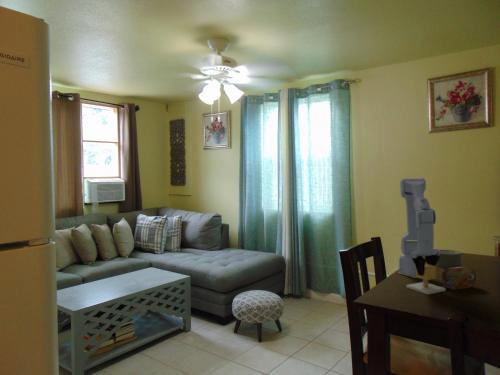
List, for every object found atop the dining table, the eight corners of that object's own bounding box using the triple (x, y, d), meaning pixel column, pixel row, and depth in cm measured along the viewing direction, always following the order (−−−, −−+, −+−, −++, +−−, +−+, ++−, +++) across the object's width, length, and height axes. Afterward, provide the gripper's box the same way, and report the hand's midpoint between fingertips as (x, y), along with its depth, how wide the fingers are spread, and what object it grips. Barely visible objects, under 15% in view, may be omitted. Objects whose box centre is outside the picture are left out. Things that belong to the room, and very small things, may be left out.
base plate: (406, 287, 147) (406, 275, 147) (423, 284, 152) (423, 272, 151) (427, 294, 138) (427, 281, 138) (445, 290, 142) (445, 278, 142)
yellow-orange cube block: (416, 277, 146) (416, 264, 146) (424, 275, 148) (424, 263, 148) (426, 280, 141) (426, 267, 141) (435, 278, 143) (435, 265, 143)
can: (433, 262, 191) (433, 249, 191) (459, 263, 186) (459, 250, 186) (435, 267, 180) (435, 253, 180) (463, 269, 175) (463, 255, 175)
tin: (446, 290, 143) (446, 269, 142) (440, 288, 146) (439, 267, 145) (476, 287, 147) (476, 266, 146) (470, 285, 150) (470, 264, 149)
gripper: (421, 243, 138) (421, 278, 138) (447, 240, 144) (447, 274, 144) (406, 240, 144) (406, 274, 144) (431, 237, 150) (431, 270, 151)
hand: (425, 274), depth 145 cm, fingers closed on yellow-orange cube block, 5 cm apart
